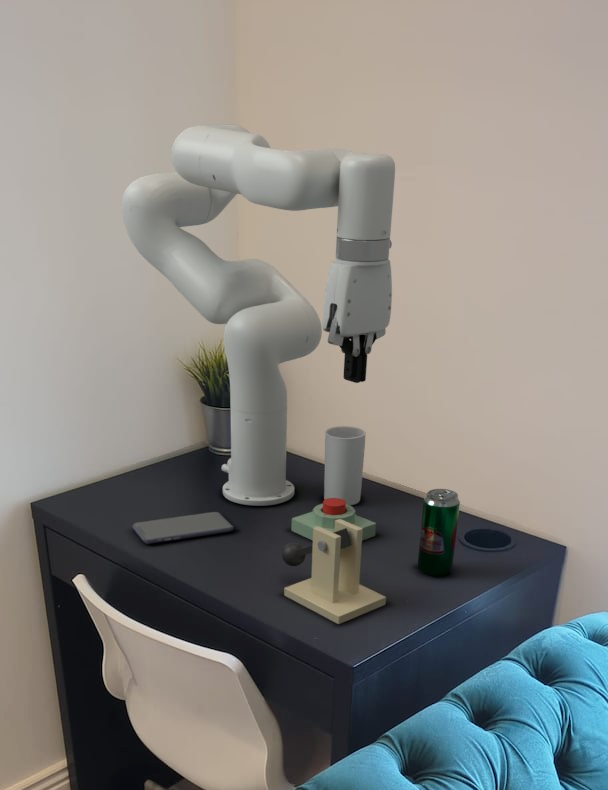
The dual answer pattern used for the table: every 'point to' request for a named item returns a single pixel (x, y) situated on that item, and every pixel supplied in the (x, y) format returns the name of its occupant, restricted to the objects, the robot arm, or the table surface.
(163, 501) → the table surface
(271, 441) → the robot arm
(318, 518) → the control block
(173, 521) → the smartphone
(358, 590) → the lever bracket
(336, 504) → the button
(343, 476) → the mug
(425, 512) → the soda can
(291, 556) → the ball knob handle
